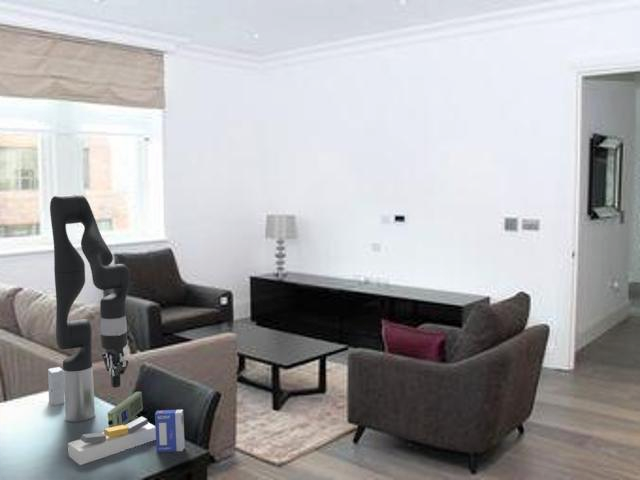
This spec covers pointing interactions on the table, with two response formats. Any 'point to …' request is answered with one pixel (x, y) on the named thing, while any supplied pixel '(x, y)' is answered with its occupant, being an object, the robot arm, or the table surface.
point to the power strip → (110, 445)
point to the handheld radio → (125, 410)
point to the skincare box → (56, 386)
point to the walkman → (169, 430)
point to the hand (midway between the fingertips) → (116, 386)
